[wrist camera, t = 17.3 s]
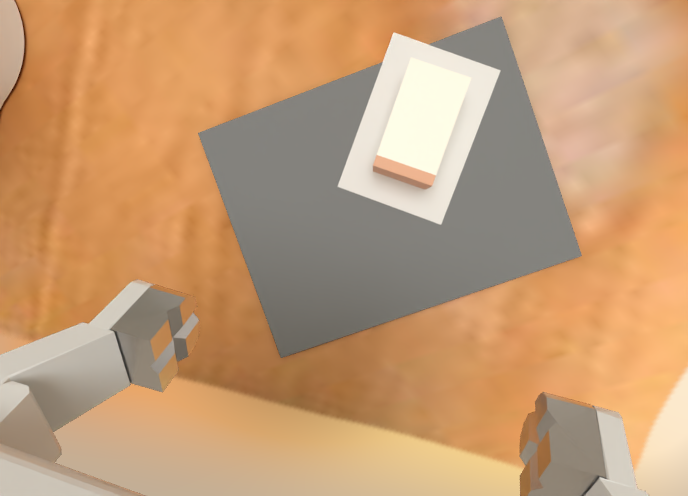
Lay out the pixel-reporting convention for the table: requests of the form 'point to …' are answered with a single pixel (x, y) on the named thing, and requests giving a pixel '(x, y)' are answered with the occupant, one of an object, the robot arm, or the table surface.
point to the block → (421, 123)
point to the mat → (388, 195)
